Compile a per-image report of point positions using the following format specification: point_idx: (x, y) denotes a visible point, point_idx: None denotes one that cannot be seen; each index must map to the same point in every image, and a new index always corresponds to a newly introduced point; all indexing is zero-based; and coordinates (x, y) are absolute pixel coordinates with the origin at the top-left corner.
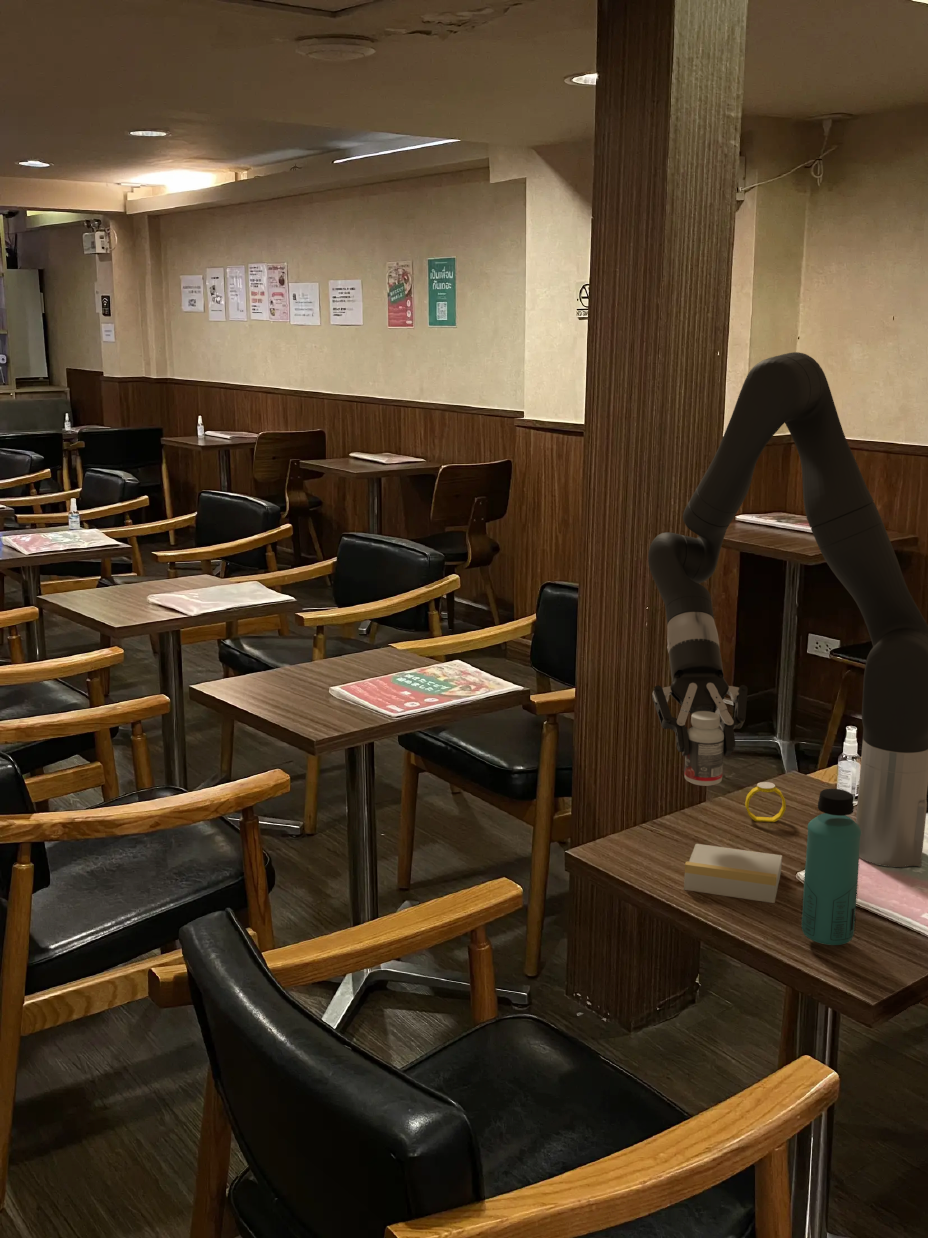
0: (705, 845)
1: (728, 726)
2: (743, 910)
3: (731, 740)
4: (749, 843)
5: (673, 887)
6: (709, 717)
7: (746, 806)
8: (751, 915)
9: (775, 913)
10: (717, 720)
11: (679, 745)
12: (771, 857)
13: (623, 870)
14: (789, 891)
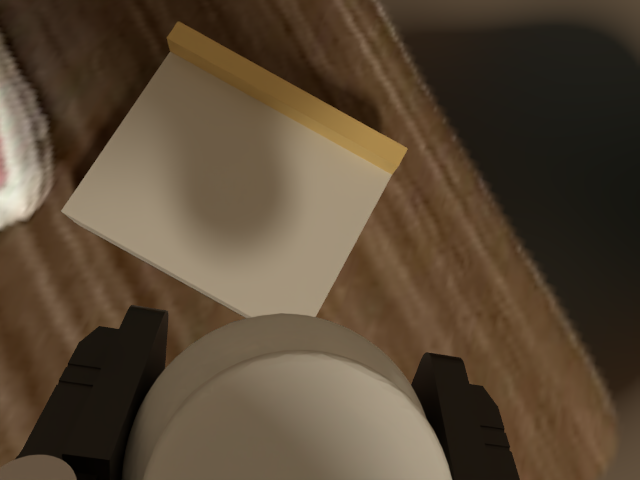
0: None
1: (66, 451)
2: (279, 46)
3: (94, 372)
4: None
5: (411, 192)
6: (287, 428)
7: None
8: (270, 20)
9: (208, 17)
10: (209, 382)
11: (491, 399)
12: (102, 203)
13: (515, 313)
14: (113, 113)
